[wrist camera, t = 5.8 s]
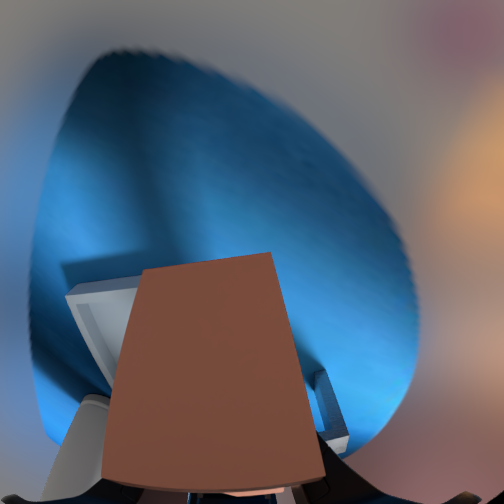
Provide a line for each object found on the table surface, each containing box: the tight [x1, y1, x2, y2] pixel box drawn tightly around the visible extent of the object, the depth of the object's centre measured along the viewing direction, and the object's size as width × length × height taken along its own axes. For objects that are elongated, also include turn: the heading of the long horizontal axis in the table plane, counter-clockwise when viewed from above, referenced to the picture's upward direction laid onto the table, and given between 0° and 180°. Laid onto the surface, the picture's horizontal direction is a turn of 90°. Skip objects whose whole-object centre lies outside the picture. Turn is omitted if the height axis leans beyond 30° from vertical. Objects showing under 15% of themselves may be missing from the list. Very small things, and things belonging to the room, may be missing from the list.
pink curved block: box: [101, 252, 326, 497], centre depth 10 cm, size 14×4×7 cm, turn 6°
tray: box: [65, 275, 142, 389], centre depth 21 cm, size 19×10×2 cm, turn 8°
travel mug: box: [40, 394, 110, 501], centre depth 16 cm, size 6×7×20 cm
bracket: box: [314, 370, 349, 454], centre depth 20 cm, size 3×6×8 cm, turn 98°
